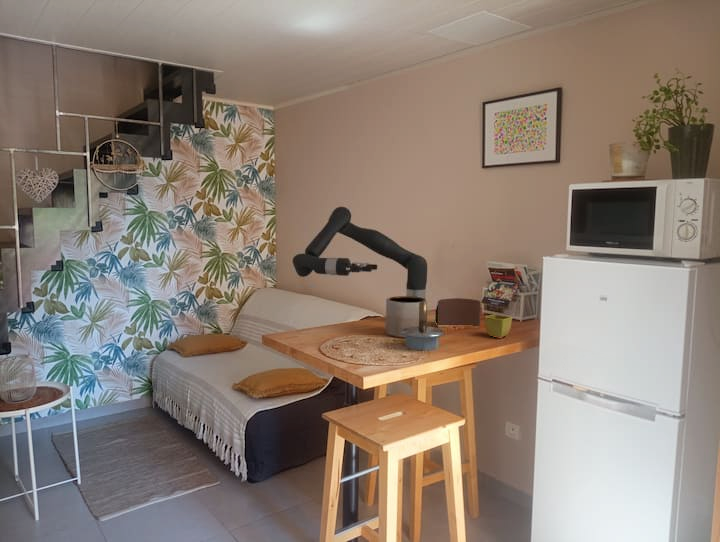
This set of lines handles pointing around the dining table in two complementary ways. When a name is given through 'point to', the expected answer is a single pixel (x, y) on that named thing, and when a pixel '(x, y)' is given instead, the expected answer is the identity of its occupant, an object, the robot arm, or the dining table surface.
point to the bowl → (422, 343)
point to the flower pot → (498, 325)
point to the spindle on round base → (422, 326)
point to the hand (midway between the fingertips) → (374, 268)
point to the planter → (401, 314)
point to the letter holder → (458, 312)
